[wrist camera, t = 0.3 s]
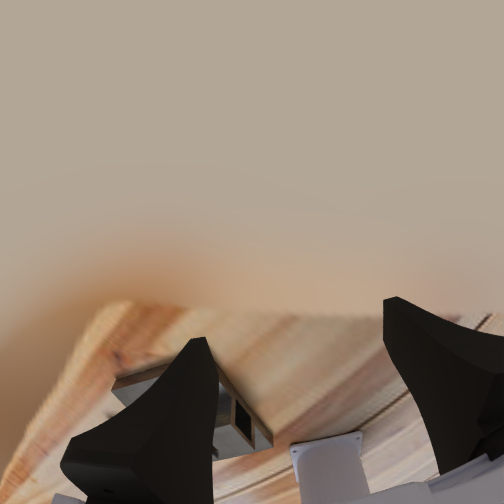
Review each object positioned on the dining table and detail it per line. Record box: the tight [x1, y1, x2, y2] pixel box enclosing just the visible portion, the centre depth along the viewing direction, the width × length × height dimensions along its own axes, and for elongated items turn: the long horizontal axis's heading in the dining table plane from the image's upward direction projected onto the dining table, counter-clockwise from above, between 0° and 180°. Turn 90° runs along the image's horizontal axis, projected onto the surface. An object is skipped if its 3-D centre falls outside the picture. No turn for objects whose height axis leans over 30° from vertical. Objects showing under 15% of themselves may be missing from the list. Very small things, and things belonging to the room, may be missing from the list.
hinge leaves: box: [111, 361, 274, 462], centre depth 25 cm, size 13×10×4 cm
